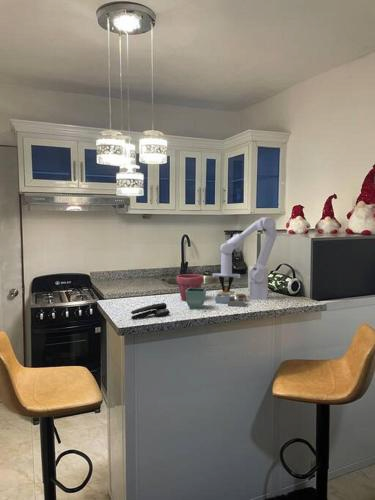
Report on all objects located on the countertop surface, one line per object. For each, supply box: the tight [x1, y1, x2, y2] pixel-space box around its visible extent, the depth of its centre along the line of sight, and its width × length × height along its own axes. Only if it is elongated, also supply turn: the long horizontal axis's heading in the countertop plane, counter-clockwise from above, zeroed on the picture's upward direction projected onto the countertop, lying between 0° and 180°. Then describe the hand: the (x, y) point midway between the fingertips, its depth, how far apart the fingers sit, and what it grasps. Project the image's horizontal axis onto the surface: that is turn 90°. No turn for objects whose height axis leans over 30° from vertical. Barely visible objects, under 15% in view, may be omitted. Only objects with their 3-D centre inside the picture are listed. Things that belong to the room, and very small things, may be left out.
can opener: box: [130, 302, 171, 320], centre depth 173 cm, size 18×7×6 cm, turn 119°
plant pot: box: [176, 273, 204, 302], centre depth 208 cm, size 14×14×13 cm
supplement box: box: [247, 265, 269, 294], centre depth 229 cm, size 9×9×15 cm
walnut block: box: [235, 293, 247, 303], centre depth 202 cm, size 4×4×4 cm
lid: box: [217, 285, 235, 296], centre depth 209 cm, size 8×8×4 cm
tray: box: [227, 297, 246, 308], centre depth 194 cm, size 8×8×3 cm
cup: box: [215, 293, 231, 305], centre depth 200 cm, size 7×7×4 cm
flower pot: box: [185, 287, 207, 310], centre depth 189 cm, size 9×9×9 cm
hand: (226, 291), depth 209 cm, fingers closed on lid, 2 cm apart
